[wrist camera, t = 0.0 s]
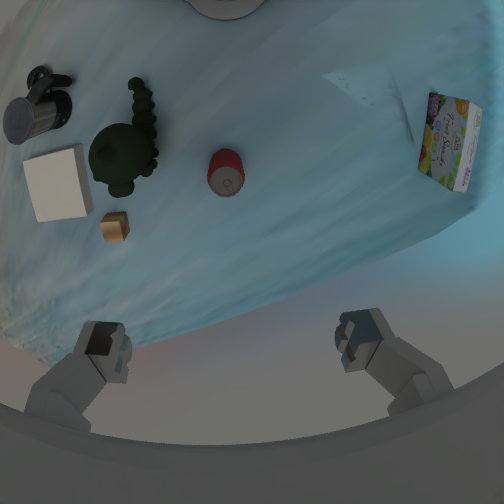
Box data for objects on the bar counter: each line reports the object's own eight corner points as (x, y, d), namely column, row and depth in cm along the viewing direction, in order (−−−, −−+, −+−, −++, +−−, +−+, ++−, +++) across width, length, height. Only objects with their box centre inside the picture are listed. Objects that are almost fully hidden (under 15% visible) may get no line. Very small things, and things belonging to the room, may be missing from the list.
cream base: (31, 156, 46) (22, 161, 43) (81, 143, 48) (73, 148, 44) (45, 214, 55) (37, 222, 52) (93, 208, 57) (87, 216, 53)
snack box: (427, 91, 47) (469, 100, 34) (442, 97, 47) (484, 107, 35) (416, 169, 58) (453, 192, 46) (430, 172, 59) (467, 195, 46)
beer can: (219, 184, 57) (218, 206, 47) (204, 158, 54) (199, 175, 44) (247, 169, 56) (252, 189, 46) (232, 143, 53) (234, 156, 43)
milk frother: (66, 133, 46) (28, 150, 33) (21, 119, 41) (-19, 134, 28) (85, 73, 39) (47, 73, 27) (36, 63, 34) (-4, 66, 22)
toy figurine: (130, 167, 53) (79, 219, 32) (121, 82, 42) (55, 84, 22) (172, 162, 53) (140, 212, 33) (165, 74, 43) (121, 63, 22)
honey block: (107, 212, 58) (99, 222, 54) (126, 211, 58) (119, 221, 54) (111, 231, 61) (105, 242, 56) (130, 230, 61) (124, 240, 57)
